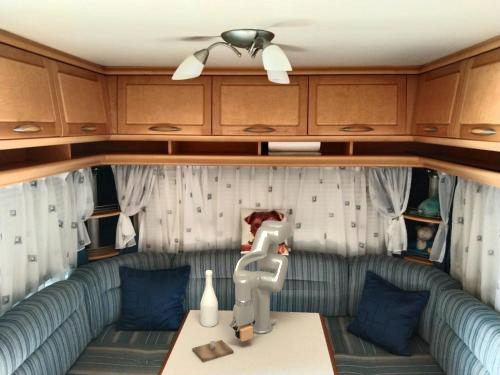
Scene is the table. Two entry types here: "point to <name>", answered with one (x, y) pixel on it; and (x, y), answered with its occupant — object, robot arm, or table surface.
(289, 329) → the table surface
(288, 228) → the robot arm
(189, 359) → the table surface
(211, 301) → the wine bottle
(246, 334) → the light orange cube
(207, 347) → the base plate
